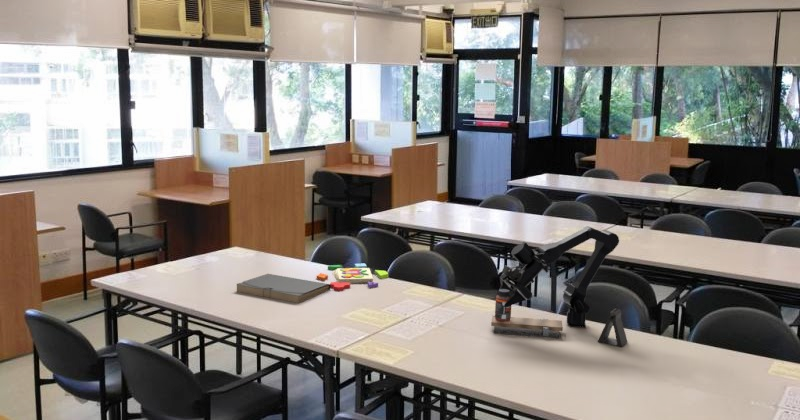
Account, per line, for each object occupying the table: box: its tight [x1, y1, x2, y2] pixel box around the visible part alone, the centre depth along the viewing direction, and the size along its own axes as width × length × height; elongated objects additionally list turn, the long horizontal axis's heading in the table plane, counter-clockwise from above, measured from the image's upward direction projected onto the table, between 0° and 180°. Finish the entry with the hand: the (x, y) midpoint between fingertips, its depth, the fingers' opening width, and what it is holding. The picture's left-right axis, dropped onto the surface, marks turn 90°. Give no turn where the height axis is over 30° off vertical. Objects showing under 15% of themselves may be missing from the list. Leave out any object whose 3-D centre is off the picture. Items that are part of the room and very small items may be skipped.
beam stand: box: [493, 318, 560, 340], centre depth 275 cm, size 24×11×4 cm, turn 80°
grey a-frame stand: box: [597, 308, 628, 348], centre depth 264 cm, size 9×6×12 cm, turn 55°
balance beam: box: [490, 315, 564, 332], centre depth 274 cm, size 26×8×2 cm, turn 80°
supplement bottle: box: [494, 289, 512, 321], centre depth 275 cm, size 6×6×11 cm
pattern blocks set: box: [316, 262, 389, 292], centre depth 344 cm, size 38×34×3 cm
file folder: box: [236, 273, 332, 304], centre depth 320 cm, size 33×4×24 cm
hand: (500, 302), depth 274 cm, fingers open, 9 cm apart
